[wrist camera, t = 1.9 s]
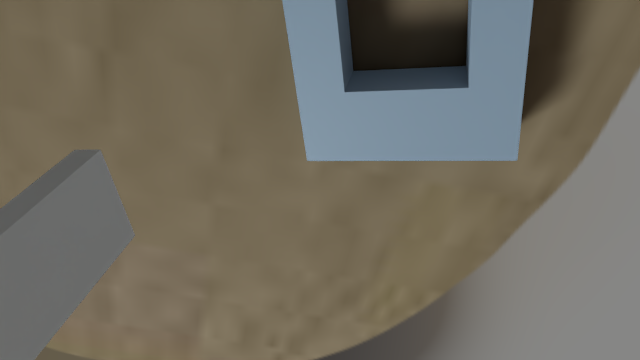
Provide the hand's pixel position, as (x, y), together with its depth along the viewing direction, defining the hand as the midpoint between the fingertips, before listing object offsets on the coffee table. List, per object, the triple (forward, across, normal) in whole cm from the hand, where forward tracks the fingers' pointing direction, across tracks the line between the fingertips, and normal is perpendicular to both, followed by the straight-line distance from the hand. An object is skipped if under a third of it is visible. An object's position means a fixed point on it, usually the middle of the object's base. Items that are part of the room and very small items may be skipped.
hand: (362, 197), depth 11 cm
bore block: (+17, 0, 0) cm, 17 cm away
